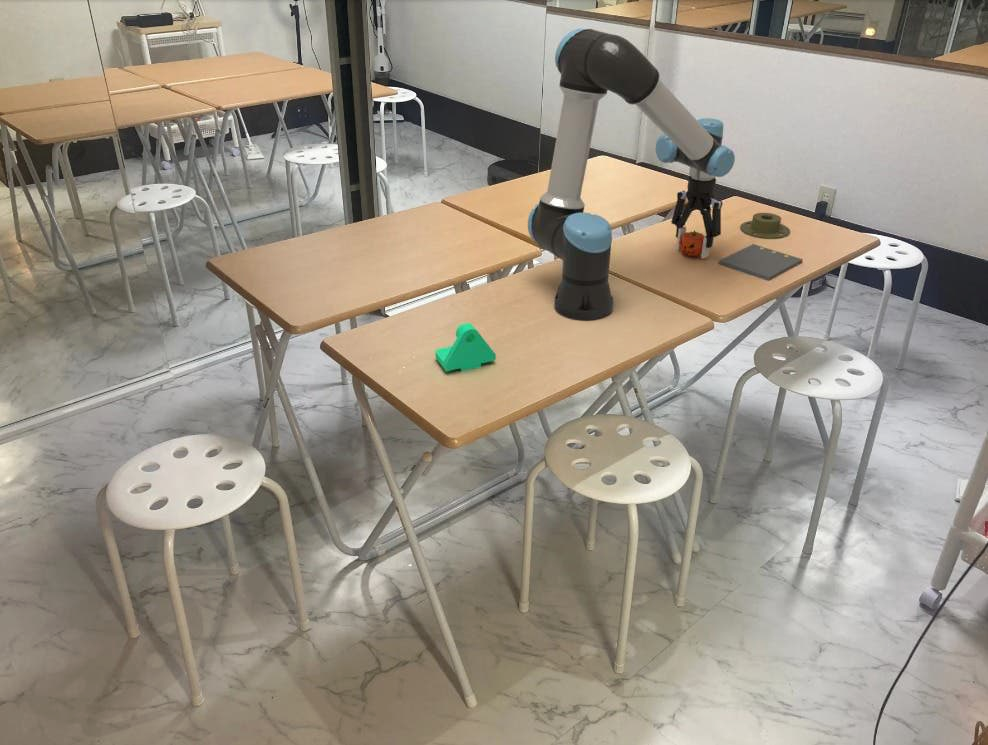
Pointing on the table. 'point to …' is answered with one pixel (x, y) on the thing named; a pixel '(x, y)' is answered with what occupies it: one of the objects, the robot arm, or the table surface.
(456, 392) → the table surface
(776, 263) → the mat
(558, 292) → the robot arm
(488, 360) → the camera mount
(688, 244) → the pumpkin
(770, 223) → the flange
